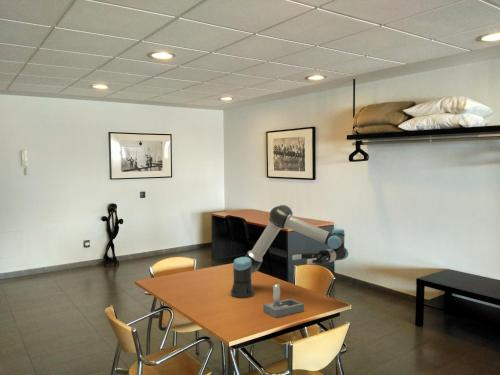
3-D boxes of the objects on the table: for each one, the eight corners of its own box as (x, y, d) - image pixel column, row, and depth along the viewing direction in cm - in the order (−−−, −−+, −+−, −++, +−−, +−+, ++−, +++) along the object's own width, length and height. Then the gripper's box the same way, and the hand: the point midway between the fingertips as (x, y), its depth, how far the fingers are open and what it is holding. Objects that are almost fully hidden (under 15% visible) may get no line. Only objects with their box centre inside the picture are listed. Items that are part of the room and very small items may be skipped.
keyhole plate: (291, 305, 239) (291, 298, 239) (304, 310, 229) (304, 304, 228) (263, 311, 228) (263, 304, 228) (275, 317, 218) (275, 310, 218)
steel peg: (272, 311, 228) (272, 283, 228) (281, 311, 228) (281, 283, 227) (271, 314, 223) (271, 285, 223) (280, 314, 223) (280, 286, 222)
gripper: (341, 265, 235) (314, 270, 224) (313, 258, 257) (287, 262, 245) (341, 253, 235) (314, 257, 224) (313, 246, 256) (287, 250, 245)
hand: (299, 259), depth 234 cm, fingers open, 13 cm apart
